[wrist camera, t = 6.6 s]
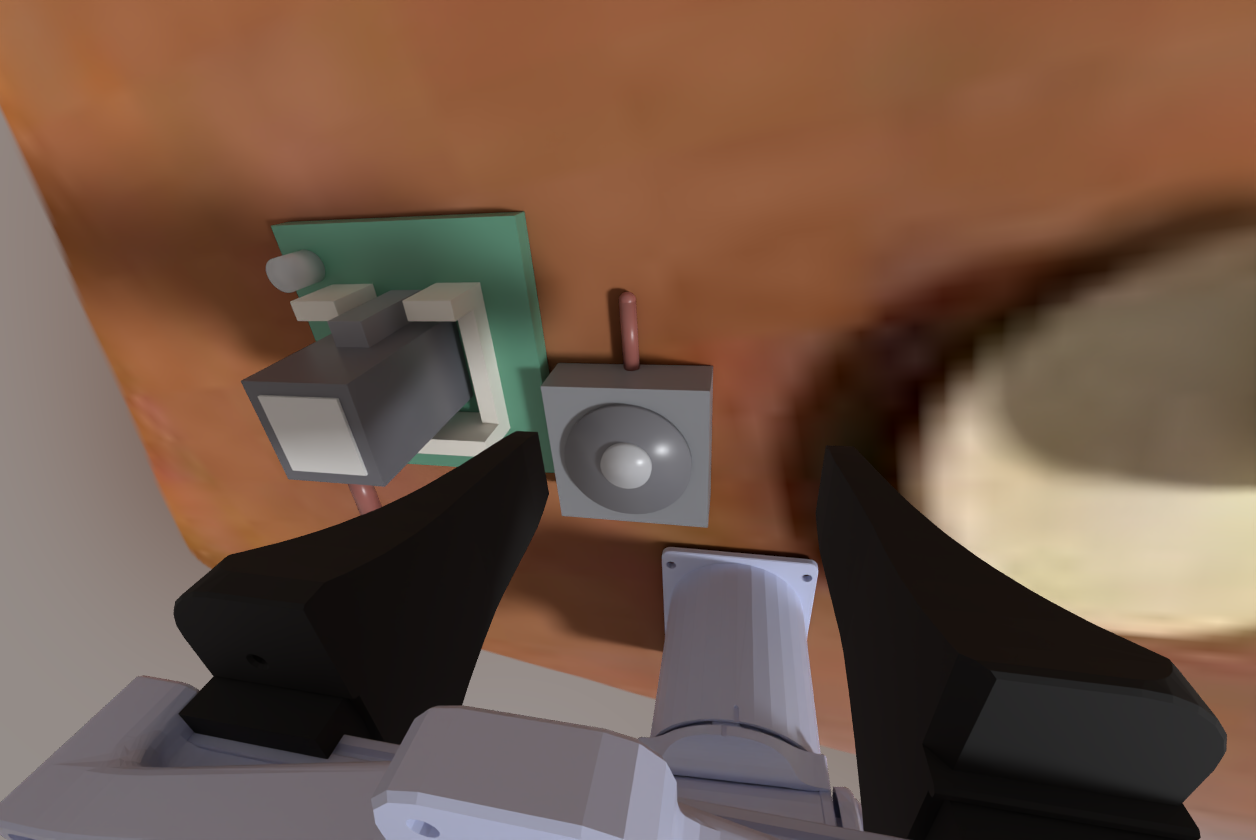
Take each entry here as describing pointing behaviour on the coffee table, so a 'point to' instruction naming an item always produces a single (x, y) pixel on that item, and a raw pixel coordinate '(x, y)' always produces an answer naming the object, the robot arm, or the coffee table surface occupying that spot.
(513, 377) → the board
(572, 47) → the coffee table surface
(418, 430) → the plug
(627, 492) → the grey dished knob block
